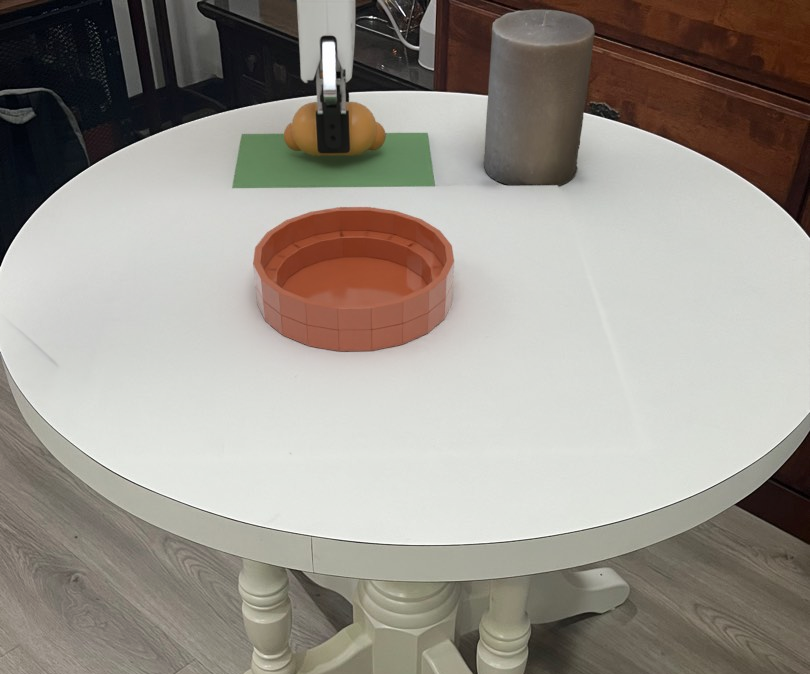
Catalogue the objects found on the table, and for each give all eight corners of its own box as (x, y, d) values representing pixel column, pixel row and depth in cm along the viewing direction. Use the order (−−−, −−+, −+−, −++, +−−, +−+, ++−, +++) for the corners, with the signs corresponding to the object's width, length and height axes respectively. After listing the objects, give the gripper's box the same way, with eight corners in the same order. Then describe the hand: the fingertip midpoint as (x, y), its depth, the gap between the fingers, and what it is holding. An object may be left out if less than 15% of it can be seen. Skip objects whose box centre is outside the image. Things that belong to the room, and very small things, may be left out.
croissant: (283, 164, 100) (279, 114, 96) (285, 143, 103) (281, 94, 100) (386, 163, 100) (386, 113, 97) (385, 142, 104) (385, 93, 100)
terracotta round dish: (252, 359, 78) (246, 309, 75) (264, 254, 89) (260, 207, 86) (458, 356, 79) (461, 306, 75) (444, 252, 90) (446, 205, 87)
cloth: (232, 193, 98) (231, 189, 97) (242, 137, 107) (241, 133, 107) (435, 191, 98) (435, 187, 98) (427, 136, 108) (427, 132, 107)
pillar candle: (596, 170, 102) (620, 12, 91) (531, 199, 97) (549, 37, 87) (526, 139, 107) (541, -14, 96) (462, 166, 102) (470, 8, 92)
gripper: (286, -90, 94) (300, 106, 107) (278, -34, 82) (294, 178, 95) (366, -90, 94) (369, 105, 107) (369, -35, 82) (372, 177, 95)
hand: (334, 137), depth 101 cm, fingers closed on croissant, 5 cm apart
